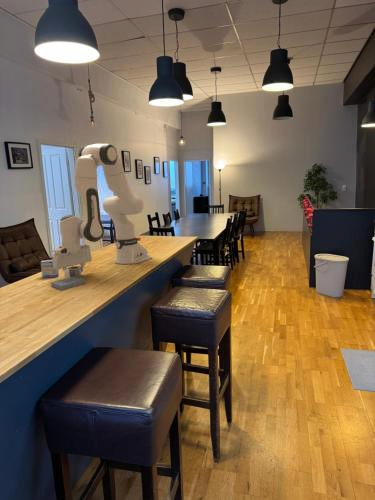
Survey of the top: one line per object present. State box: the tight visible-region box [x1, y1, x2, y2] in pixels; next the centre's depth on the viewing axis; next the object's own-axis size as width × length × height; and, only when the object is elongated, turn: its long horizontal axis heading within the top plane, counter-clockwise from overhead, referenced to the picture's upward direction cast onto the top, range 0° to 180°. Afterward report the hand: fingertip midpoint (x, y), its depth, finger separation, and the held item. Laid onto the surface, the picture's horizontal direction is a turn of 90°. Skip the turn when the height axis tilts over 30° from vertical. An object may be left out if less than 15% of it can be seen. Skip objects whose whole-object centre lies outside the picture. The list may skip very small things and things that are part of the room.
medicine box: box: [40, 259, 60, 279], centre depth 183 cm, size 8×4×9 cm, turn 105°
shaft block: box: [50, 269, 86, 291], centre depth 167 cm, size 12×10×8 cm
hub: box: [67, 265, 83, 278], centre depth 180 cm, size 6×6×5 cm
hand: (74, 273), depth 180 cm, fingers closed on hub, 6 cm apart
